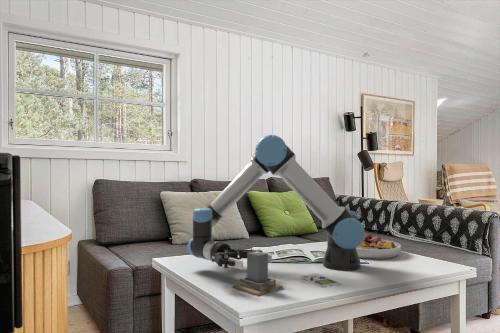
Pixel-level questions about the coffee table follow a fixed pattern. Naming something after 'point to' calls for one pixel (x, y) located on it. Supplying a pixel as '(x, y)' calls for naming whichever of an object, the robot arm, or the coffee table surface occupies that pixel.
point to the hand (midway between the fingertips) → (257, 261)
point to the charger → (257, 267)
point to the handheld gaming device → (320, 280)
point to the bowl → (377, 248)
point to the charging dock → (257, 286)
